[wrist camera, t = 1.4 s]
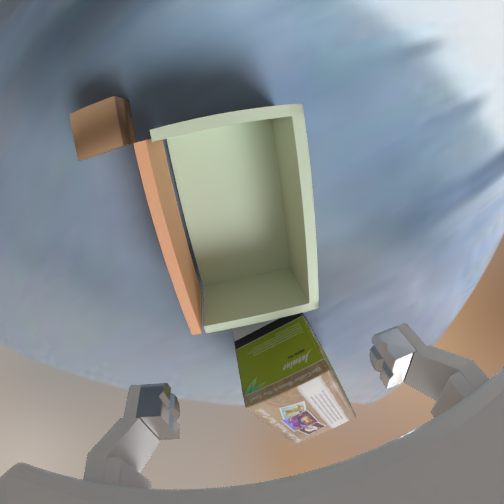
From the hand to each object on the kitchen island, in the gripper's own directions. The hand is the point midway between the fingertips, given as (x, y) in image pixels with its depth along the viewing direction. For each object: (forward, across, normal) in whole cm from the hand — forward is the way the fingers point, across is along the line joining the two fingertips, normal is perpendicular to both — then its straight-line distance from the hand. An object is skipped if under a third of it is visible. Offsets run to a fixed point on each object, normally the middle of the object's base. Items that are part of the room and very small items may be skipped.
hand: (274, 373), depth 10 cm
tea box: (+24, -4, +22) cm, 33 cm away
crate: (+24, -1, 0) cm, 24 cm away
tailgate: (+22, +6, 0) cm, 23 cm away
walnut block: (+23, +11, -12) cm, 29 cm away
